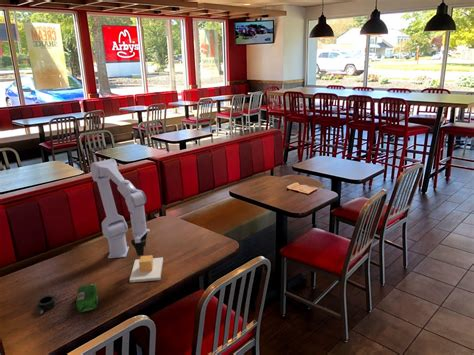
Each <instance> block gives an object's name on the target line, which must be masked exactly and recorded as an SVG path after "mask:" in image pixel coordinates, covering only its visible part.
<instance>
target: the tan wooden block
mask: <svg viewBox="0 0 474 355" xmlns="http://www.w3.org/2000/svg"><path fill="white" fill-rule="evenodd" d="M153 256H154V255H151V254H150V255H142V256H139V257H140V258H139V259H140V260H139V267H140V272H144V271H152V270H153V265H154V263H153V258H154V257H153Z"/></svg>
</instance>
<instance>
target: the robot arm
mask: <svg viewBox="0 0 474 355" xmlns="http://www.w3.org/2000/svg"><path fill="white" fill-rule="evenodd" d="M89 169H90V173H91V177H92V180H93V182H96V183H97V186H98V191H99V194H100V198H101V201H102V205H103V209H104V213H105V216H106V217H104V219H103V220H102V222H101V231H102V235H103V237H104V238H105V239H107V242H108V248H109V254H108V256H107V259H116V258H126V257H127V255H128V253H129V252H128V251H129V249H130V246H127V245H128V244H127V238H126V233H128V224H127V222H126V220H125V217H124V216H123V215H120V214H119V213H118V210H117V207H116V202H115V199H114V195H113V191H112V187H111V184H110V180H112V182H113V183H115V185H117V187H116V188H117V191H118V192H119V193H120V195H122V196H123V198H124V199H125V204H126V206H127V210H128V212H129V215H130V224H131V235H132V236H133V238H134V239H131V241H130V244H131V245H132V246H133V248H134V250H135V252H136V254H137V256H138V257H140V256H144V252H145V247H146V245H147V237H148V236H147V235H148V233H149V232H150V228H147V221H146V212H145V204H146V203H147V196H146V194H145V192H144V191H143V190H141V189H137V188H136V187H135V185H134V184H133V183H132V182H131V181H130V180H128V179H125V178H124V177H123V175H122V174H121V172H120V170H119V167H118V163H117V160H115V159H114V158H110V159H109V158H108V159H105V160H100V161H96V162H95V161H94V162H91V164H90V168H89Z"/></svg>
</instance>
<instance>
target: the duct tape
mask: <svg viewBox="0 0 474 355" xmlns="http://www.w3.org/2000/svg"><path fill="white" fill-rule="evenodd" d="M57 296H58V294H57V293H55V294H52V295H51V294H50V295H48V294H47V295H44V296H42V297H40V298H39V299H38V300H37V305H36V308H35V309H36V310H35V313H36V314H39V315H41V314H42V313H43V312H48V311H51V310H53V309H54V308H55V307H56V306H57V302H56V297H57Z"/></svg>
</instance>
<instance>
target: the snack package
mask: <svg viewBox="0 0 474 355" xmlns="http://www.w3.org/2000/svg"><path fill="white" fill-rule="evenodd" d="M98 294H99V292H98V285H97V284H96V283H88V284H84V285H82V286H79V287H78V289H77V295H76V302H75V303H76V304H75V305H76V308H77V311H78V312H79V313H84V312H88V311H92V310H97V309H98V304H99V298H98Z"/></svg>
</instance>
